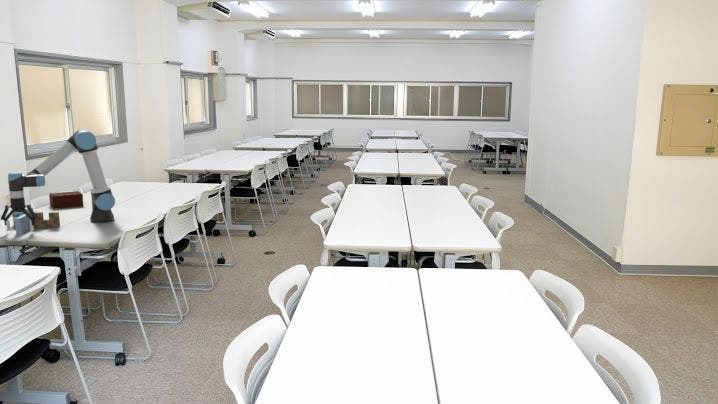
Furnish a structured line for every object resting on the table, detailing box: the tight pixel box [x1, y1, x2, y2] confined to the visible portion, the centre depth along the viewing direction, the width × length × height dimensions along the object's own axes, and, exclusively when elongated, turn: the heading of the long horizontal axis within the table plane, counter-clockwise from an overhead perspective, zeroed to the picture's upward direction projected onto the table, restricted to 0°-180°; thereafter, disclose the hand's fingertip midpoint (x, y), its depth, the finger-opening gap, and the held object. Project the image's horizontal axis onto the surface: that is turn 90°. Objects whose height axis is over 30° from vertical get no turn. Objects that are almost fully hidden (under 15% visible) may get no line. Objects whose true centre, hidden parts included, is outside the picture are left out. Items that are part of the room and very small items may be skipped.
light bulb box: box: [11, 207, 34, 226], centre depth 352 cm, size 11×7×11 cm, turn 168°
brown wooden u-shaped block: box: [33, 211, 61, 229], centre depth 346 cm, size 15×3×10 cm, turn 99°
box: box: [48, 190, 84, 210], centre depth 412 cm, size 21×16×10 cm
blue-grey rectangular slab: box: [14, 214, 31, 235], centre depth 334 cm, size 14×3×10 cm, turn 9°
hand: (20, 230), depth 330 cm, fingers open, 13 cm apart
